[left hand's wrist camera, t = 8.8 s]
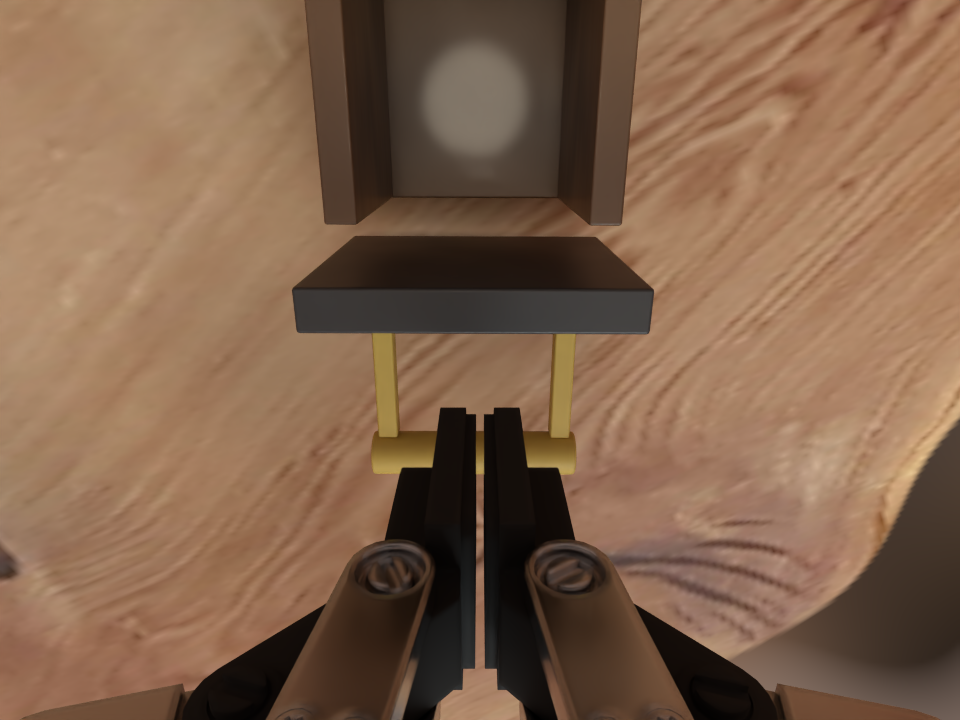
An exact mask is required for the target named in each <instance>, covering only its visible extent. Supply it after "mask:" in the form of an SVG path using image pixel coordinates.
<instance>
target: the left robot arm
mask: <svg viewBox="0 0 960 720" xmlns="http://www.w3.org/2000/svg"><path fill="white" fill-rule="evenodd" d="M475 614H476V414H466V408H440V415H439V422H438V429H437V436H436V443H435V451H434V458H433V465H432V467H403V468H402V469H401V472H400V476H399V480H398V484H397V489H396V493H395V498H394V502H393V506H392V511H391V515H390V519H389V524H388V528H387V532H386V537H385V541H380V542H376V543H373V544H371V545H369V546H366V547H364V548H363V549H361V550H360V551H359V552H357V553H356V554H355V555H354V556H353V557H352V558H351V559H350V561H349V562H348V563H347V565H346V567H345V569H344V571H343V573H342V575H341V577H340V578H339V580H338V582H337V584H336V586H335V588H334V590H333V592H332V594H331V596H330V598H329V600H328V601H327V603H326V604H325V605H323V606H321V607H320V608H318V609H316V610H315V611H313V612H311V613H310V614H308V615H306V616H305V617H303V618H301V619H300V620H298V621H297V622H295V623H293V624H292V625H290V626H288V627H287V628H285V629H283V630H282V631H280V632H278V633H277V634H275V635H273V636H272V637H270V638H268V639H267V640H265V641H264V642H262V643H260V644H259V645H257V646H255V647H254V648H252V649H250V650H249V651H247V652H245V653H244V654H242V655H240V656H239V657H237V658H235V659H234V660H232V661H231V662H229V663H227V664H226V665H224V666H222V667H221V668H219V669H217V670H216V671H215V672H213V673H212V674H211V675H209V676H208V677H207V678H205V679H204V680H203V681H202V682H201V683H200V684H199V686H198V687H197V688H196V689H195V690H193V691H188V692H185V691H184V687H183V684H178V685H173V686H168V687H163V688H158V689H152V690H147V691H142V692H137V693H132V694H127V695H122V696H117V697H111V698H106V699H101V700H96V701H91V702H86V703H81V704H76V705H71V706H65V707H60V708H55V709H50V710H45V711H42V712H39V713H36V714H33V715H30V716H26V717H24V718H22V719H20V720H440V712H441V700H442V699H443V698H444V697H446V696H447V695H448V694H449V693H450V692H451V691H453V690H462V686H463V669H475ZM484 614H485V669H497V686H498V690H507V691H509V692H510V693H511V694H512V695H513V696H514V697H516V698H517V699H518V700H519V712H520V720H940V719H938V718H936V717H933V716H930V715H927V714H924V713H921V712H918V711H915V710H910V709H905V708H900V707H894V706H889V705H884V704H879V703H874V702H869V701H864V700H859V699H854V698H849V697H843V696H838V695H833V694H828V693H823V692H818V691H812V690H807V689H802V688H797V687H792V686H787V685H782V684H777V687H776V691H775V692H772V691H767V690H765V689H764V688H763V687H762V686H761V684H760V683H759V682H758V681H757V680H756V679H754V678H753V677H752V676H751V675H749V674H748V673H747V672H745V671H744V670H743V669H741V668H739V667H738V666H736V665H734V664H733V663H731V662H729V661H728V660H726V659H725V658H723V657H721V656H720V655H718V654H716V653H715V652H713V651H711V650H710V649H708V648H706V647H705V646H703V645H701V644H700V643H698V642H696V641H695V640H693V639H692V638H690V637H688V636H687V635H685V634H683V633H682V632H680V631H678V630H677V629H675V628H673V627H672V626H670V625H668V624H667V623H665V622H663V621H662V620H660V619H659V618H657V617H655V616H654V615H652V614H650V613H649V612H647V611H645V610H644V609H642V608H640V607H639V606H637V605H635V604H634V603H633V601H632V600H631V598H630V596H629V594H628V592H627V590H626V588H625V586H624V584H623V582H622V580H621V578H620V577H619V575H618V573H617V571H616V569H615V567H614V565H613V563H612V562H611V561H610V559H609V558H608V557H607V556H606V555H605V554H604V553H603V552H601V551H600V550H599V549H597V548H596V547H594V546H591V545H589V544H587V543H584V542H580V541H575V537H574V532H573V528H572V524H571V519H570V515H569V511H568V506H567V502H566V498H565V493H564V489H563V484H562V480H561V476H560V472H559V469H558V468H557V467H528V465H527V458H526V451H525V443H524V436H523V429H522V422H521V415H520V408H494V414H484Z"/></svg>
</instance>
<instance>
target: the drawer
mask: <svg viewBox="0 0 960 720" xmlns="http://www.w3.org/2000/svg"><path fill="white" fill-rule="evenodd" d="M641 3H642V0H305V10H306V21H307V32H308V43H309V54H310V65H311V76H312V87H313V99H314V110H315V121H316V132H317V143H318V154H319V165H320V176H321V188H322V199H323V210H324V221H325V224H350V225H356V224H358V223H359V222H360V221H362V220H363V219H364V218H365V217H367V216H368V215H369V214H371V213H372V212H373V211H375V210H376V209H377V208H379V207H380V206H381V205H383V204H384V203H385V202H387V201H388V200H389V199H391V198H392V197H418V198H559V199H560V200H561V201H562V202H563V203H565V204H566V205H567V206H568V207H569V208H570V209H572V210H573V211H574V212H575V213H576V214H577V215H579V216H580V217H581V218H582V219H583V220H585V221H586V222H587V223H588V224H589V225H613V226H619V225H621V224H622V216H623V205H624V193H625V182H626V171H627V160H628V148H629V137H630V126H631V115H632V104H633V92H634V81H635V70H636V59H637V48H638V36H639V25H640V14H641ZM292 294H293V303H294V311H295V320H296V329H297V332H299V333H372V343H373V359H374V374H375V389H376V404H377V419H378V431H376V432H375V433H374V436H373V440H372V449H371V462H372V469H373V472H374V473H376V474H400V472H401V469H402V468H403V467H432V465H433V458H434V451H435V443H436V436H437V431H399V429H400V422H399V402H398V382H397V363H396V343H395V333H434V334H553V345H552V365H551V384H550V404H549V423H548V430H549V431H523V436H524V443H525V451H526V458H527V465H528V467H557V468H558V469H559V472H560V474H573V473H574V472H575V468H576V442H575V437H574V434H573V432H570V418H571V402H572V387H573V372H574V357H575V342H576V334H649V331H650V324H651V315H652V306H653V297H654V290H653V289H652V288H651V287H650V286H649V285H648V284H647V283H646V282H645V281H644V280H643V279H641V278H640V277H639V276H638V275H637V274H636V273H635V272H634V271H633V270H632V269H630V268H629V267H628V266H627V265H626V264H625V263H624V262H623V261H622V260H621V259H620V258H618V257H617V256H616V255H615V254H614V253H613V252H612V251H611V250H610V249H609V248H607V247H606V246H605V245H604V244H603V243H602V242H601V241H600V240H599V239H598V238H596V237H466V236H355V237H353V238H352V239H351V240H350V241H348V242H347V243H346V244H345V245H344V246H342V247H341V248H340V249H339V250H338V251H337V252H335V253H334V254H333V255H332V256H331V257H329V258H328V259H327V260H326V261H325V262H323V263H322V264H321V265H320V266H319V267H317V268H316V269H315V270H314V271H313V272H311V273H310V274H309V275H308V276H307V277H305V278H304V279H303V280H302V281H301V282H299V283H298V284H297V285H296V286H295V287H293V289H292ZM476 474H484V431H476Z"/></svg>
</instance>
